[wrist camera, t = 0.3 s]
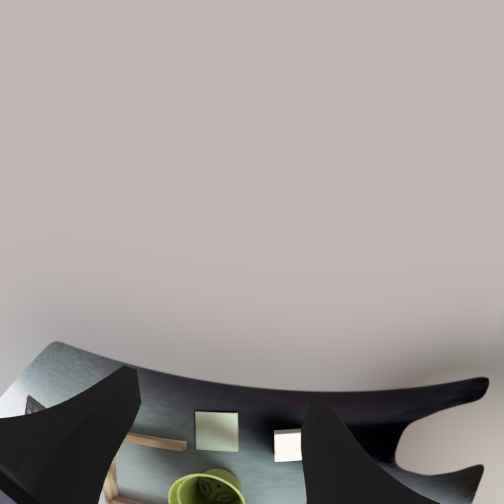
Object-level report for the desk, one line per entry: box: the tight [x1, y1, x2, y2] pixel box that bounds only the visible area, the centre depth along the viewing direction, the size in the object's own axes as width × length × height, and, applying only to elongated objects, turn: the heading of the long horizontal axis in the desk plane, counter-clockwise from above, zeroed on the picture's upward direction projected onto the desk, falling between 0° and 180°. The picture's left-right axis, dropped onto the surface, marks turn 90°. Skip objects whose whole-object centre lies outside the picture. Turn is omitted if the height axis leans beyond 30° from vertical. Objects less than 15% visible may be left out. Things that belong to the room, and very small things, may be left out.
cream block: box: [274, 429, 302, 462], centre depth 30 cm, size 4×4×4 cm
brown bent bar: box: [104, 411, 239, 504], centre depth 29 cm, size 19×21×2 cm
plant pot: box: [168, 469, 246, 504], centre depth 24 cm, size 9×9×9 cm
